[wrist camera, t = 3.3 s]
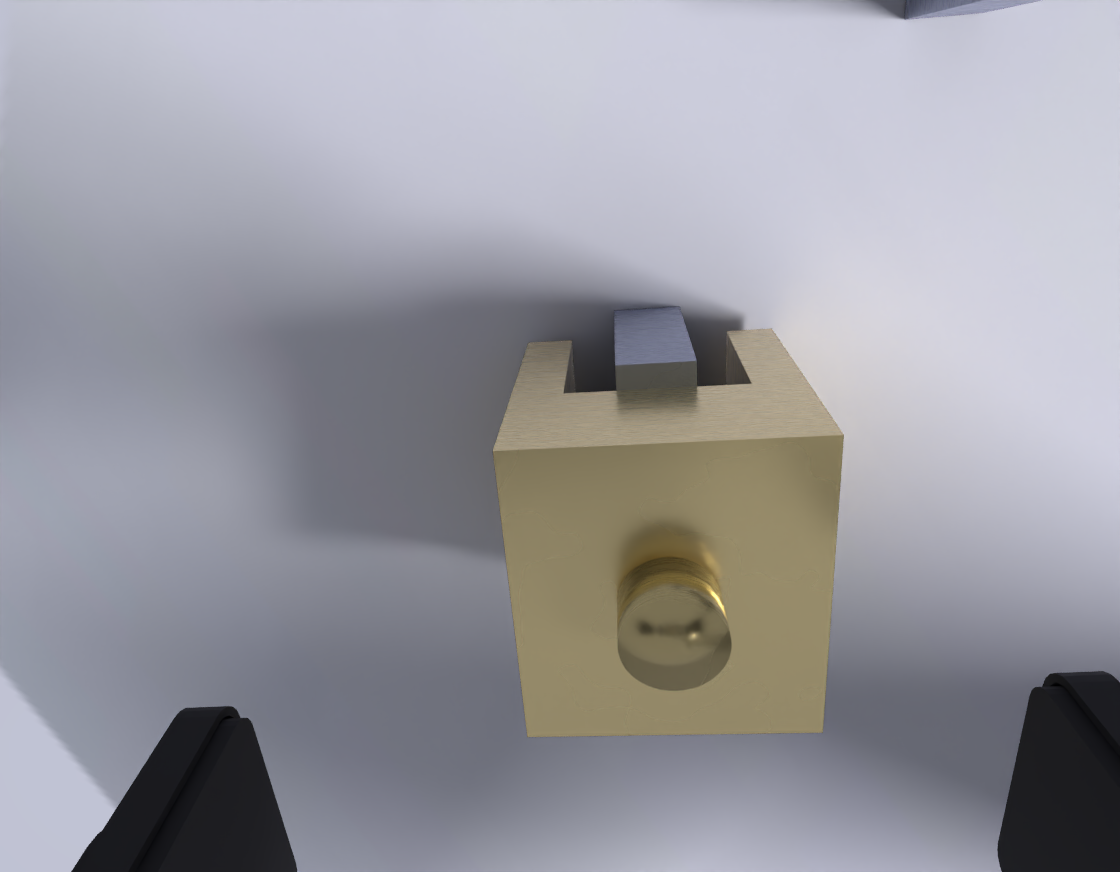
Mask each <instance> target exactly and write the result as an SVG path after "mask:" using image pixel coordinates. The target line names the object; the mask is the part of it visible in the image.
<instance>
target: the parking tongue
mask: <svg viewBox="0 0 1120 872" xmlns="http://www.w3.org/2000/svg"><path fill="white" fill-rule="evenodd" d="M614 328H615V374H616V391H621V390H640V389H659V388H679V387H697V360H696V356H695V353H694V350H693V347H692V344H691V341H690V338H689V334H688V331H687V328H686V325H685V322H684V319H683V316H682V313H681V309H680V307H666V308H649V309H633V310H616V311H614Z"/></svg>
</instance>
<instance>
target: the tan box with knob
mask: <svg viewBox="0 0 1120 872" xmlns="http://www.w3.org/2000/svg"><path fill="white" fill-rule="evenodd" d="M843 439H844V434H843V433H842V432H841V430H840V429H839V427H838V426H837V424H836V423H835V421H834V420H833V418H832V417H831V415H830V414H829V412H828V411H827V409H826V408H825V406H824V405H823V404H822V402H821V401H820V399H819V398H818V396H817V395H816V393H815V392H814V390H813V389H812V387H811V386H810V384H809V383H808V381H807V380H806V378H805V377H804V376H803V374H802V373H801V371H800V370H799V368H798V367H797V365H796V364H795V362H794V361H793V359H792V358H791V356H790V355H789V353H788V352H787V351H786V349H785V348H784V346H783V345H782V343H781V342H780V340H779V339H778V337H777V336H776V334H775V333H774V331H773V330H772V329H757V330H739V331H726V385H717V386H698V387H679V388H659V389H640V390H621V391H601V392H582V393H576V392H575V378H574V364H573V351H572V340H565V341H548V342H531V343H528V345H527V348H526V351H525V355H524V358H523V361H522V364H521V367H520V370H519V373H518V376H517V379H516V382H515V385H514V388H513V391H512V394H511V397H510V400H509V403H508V406H507V409H506V412H505V415H504V418H503V421H502V424H501V427H500V430H499V433H498V436H497V439H496V442H495V446H494V449H493V458H494V466H495V474H496V482H497V491H498V499H499V507H500V515H501V524H502V532H503V540H504V548H505V556H506V565H507V573H508V581H509V589H510V598H511V606H512V614H513V622H514V631H515V639H516V647H517V655H518V664H519V672H520V680H521V688H522V696H523V705H524V713H525V721H526V729H527V737H563V736H630V735H698V734H765V733H823V722H824V708H825V694H826V680H827V666H828V652H829V637H830V623H831V609H832V595H833V581H834V567H835V552H836V538H837V524H838V510H839V496H840V482H841V467H842V453H843Z"/></svg>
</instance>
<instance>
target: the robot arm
mask: <svg viewBox="0 0 1120 872" xmlns="http://www.w3.org/2000/svg"><path fill="white" fill-rule="evenodd" d="M998 859H999V864H1000V867H1001V871H1002V872H1120V682H1119V681H1118V680H1117V679H1115V678H1114V677H1113V676H1112V675H1111V674H1109V673H1106V672H1104V671H1098V672H1073V673H1054V674H1049V675H1048V676H1047V677H1046V678H1045V681H1044V684H1043V686H1042V687H1035V688H1034V689H1033V690H1032V691H1031V694H1030V697H1029V702H1028V706H1027V711H1026V715H1025V720H1024V725H1023V729H1022V734H1021V739H1020V743H1019V748H1018V753H1017V757H1016V762H1015V767H1014V771H1013V776H1012V781H1011V785H1010V790H1009V795H1008V799H1007V804H1006V809H1005V813H1004V818H1003V822H1002V827H1001V832H1000V836H999V841H998ZM72 872H297V867H296V862H295V859H294V856H293V852H292V849H291V846H290V843H289V840H288V836H287V833H286V830H285V827H284V824H283V820H282V817H281V814H280V811H279V808H278V805H277V801H276V798H275V795H274V792H273V789H272V785H271V782H270V779H269V776H268V773H267V769H266V766H265V763H264V760H263V757H262V753H261V750H260V747H259V744H258V741H257V737H256V734H255V731H254V728H253V725H252V723H251V721H250V720H249V719H248V718H240V716H239V714H238V712H237V710H236V709H235V708H234V707H230V706H224V707H199V708H185V709H183V710H181V711H180V712H179V713H178V714H177V716H176V717H175V718H174V720H173V721H172V723H171V724H170V726H169V727H168V729H167V730H166V732H165V734H164V735H163V737H162V738H161V740H160V741H159V743H158V745H157V746H156V748H155V749H154V751H153V752H152V754H151V755H150V757H149V759H148V760H147V762H146V763H145V765H144V766H143V768H142V769H141V771H140V773H139V774H138V776H137V777H136V779H135V780H134V782H133V784H132V785H131V787H130V788H129V790H128V791H127V793H126V794H125V796H124V798H123V799H122V801H121V802H120V804H119V805H118V807H117V809H116V810H115V812H114V813H113V815H112V816H111V818H110V819H109V821H108V823H107V824H106V826H105V827H104V829H103V830H102V831H101V832H100V833H99V834H97V836H96V837H95V839H93V841H92V842H91V843H90V844H89V846H88V847H87V848H86V850H85V851H84V853H83V855H82V856H81V858H80V859H79V861H78V862H77V864H76V865H75V867H74V869H73V870H72Z"/></svg>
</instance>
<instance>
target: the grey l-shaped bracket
mask: <svg viewBox="0 0 1120 872" xmlns="http://www.w3.org/2000/svg"><path fill="white" fill-rule="evenodd" d="M1036 1H1041V0H906V8H905V20H907V19H919V18H930V17H941V16H953V15H964V14H975V13H985V12H989V11H994V10H999V9H1004V8H1008V7H1013V6H1018V5H1022V4H1027V3H1032V2H1036Z"/></svg>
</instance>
